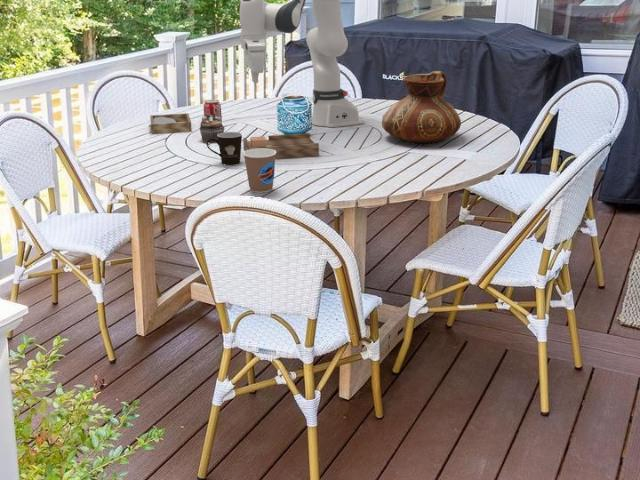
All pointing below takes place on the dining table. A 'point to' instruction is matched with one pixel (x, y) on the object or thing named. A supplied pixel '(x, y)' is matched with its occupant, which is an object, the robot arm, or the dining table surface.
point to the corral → (172, 124)
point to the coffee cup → (260, 169)
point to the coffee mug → (228, 147)
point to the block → (258, 141)
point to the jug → (422, 112)
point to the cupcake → (211, 127)
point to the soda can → (212, 108)
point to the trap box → (289, 146)
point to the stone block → (163, 120)
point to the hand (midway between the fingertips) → (255, 82)
